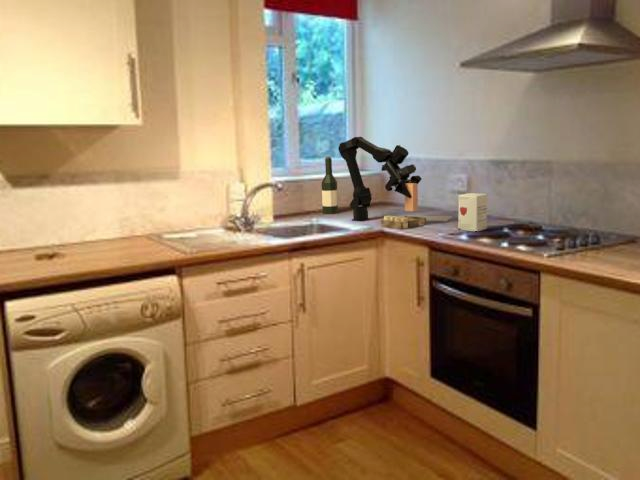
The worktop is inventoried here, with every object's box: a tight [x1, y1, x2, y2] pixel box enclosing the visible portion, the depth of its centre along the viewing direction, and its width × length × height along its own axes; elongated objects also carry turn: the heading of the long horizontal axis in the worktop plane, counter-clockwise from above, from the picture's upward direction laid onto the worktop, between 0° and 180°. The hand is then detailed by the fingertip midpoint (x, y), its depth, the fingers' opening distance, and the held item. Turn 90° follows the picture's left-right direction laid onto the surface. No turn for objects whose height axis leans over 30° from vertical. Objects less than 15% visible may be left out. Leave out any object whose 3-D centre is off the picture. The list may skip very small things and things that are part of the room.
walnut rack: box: [381, 215, 427, 230], centre depth 268 cm, size 12×16×4 cm
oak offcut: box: [395, 216, 409, 230], centre depth 262 cm, size 5×3×4 cm, turn 39°
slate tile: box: [412, 215, 453, 223], centre depth 284 cm, size 20×14×2 cm
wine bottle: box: [321, 156, 339, 215], centre depth 324 cm, size 8×8×30 cm
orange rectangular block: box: [404, 183, 419, 212], centre depth 269 cm, size 5×3×12 cm, turn 39°
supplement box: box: [457, 192, 488, 232], centre depth 256 cm, size 9×9×15 cm
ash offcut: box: [383, 215, 398, 221], centre depth 267 cm, size 5×3×4 cm, turn 39°
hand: (413, 197), depth 268 cm, fingers closed on orange rectangular block, 3 cm apart
